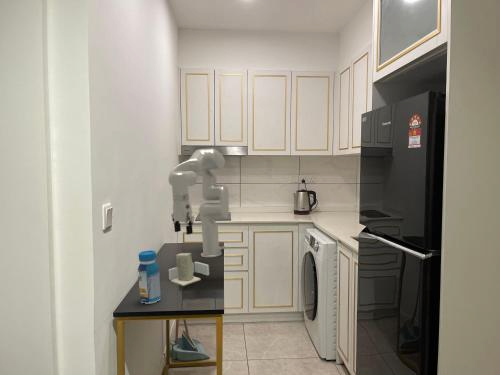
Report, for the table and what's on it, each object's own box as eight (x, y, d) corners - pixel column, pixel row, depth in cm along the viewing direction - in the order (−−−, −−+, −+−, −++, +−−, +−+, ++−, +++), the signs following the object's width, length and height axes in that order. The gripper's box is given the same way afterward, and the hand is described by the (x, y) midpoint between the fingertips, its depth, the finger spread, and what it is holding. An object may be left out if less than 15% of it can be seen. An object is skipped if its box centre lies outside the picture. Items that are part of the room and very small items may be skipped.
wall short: (196, 271, 175) (196, 261, 175) (209, 274, 168) (208, 264, 168) (195, 271, 174) (194, 262, 174) (207, 275, 167) (206, 265, 167)
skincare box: (193, 278, 162) (192, 252, 162) (189, 281, 158) (187, 255, 157) (182, 277, 165) (180, 252, 164) (177, 280, 160) (175, 254, 160)
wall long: (192, 272, 174) (192, 262, 174) (194, 272, 173) (193, 262, 173) (169, 279, 164) (168, 269, 164) (170, 280, 163) (169, 269, 163)
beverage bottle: (159, 303, 135) (155, 254, 134) (137, 305, 135) (133, 255, 133) (163, 295, 144) (159, 249, 142) (142, 297, 143) (139, 250, 142)
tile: (188, 275, 168) (188, 274, 168) (200, 279, 161) (200, 278, 161) (171, 281, 161) (170, 280, 161) (183, 286, 154) (183, 284, 154)
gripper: (198, 197, 161) (200, 233, 163) (177, 196, 173) (179, 229, 175) (185, 200, 156) (188, 236, 158) (164, 198, 168) (167, 232, 169)
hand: (183, 232), depth 166 cm, fingers open, 9 cm apart
